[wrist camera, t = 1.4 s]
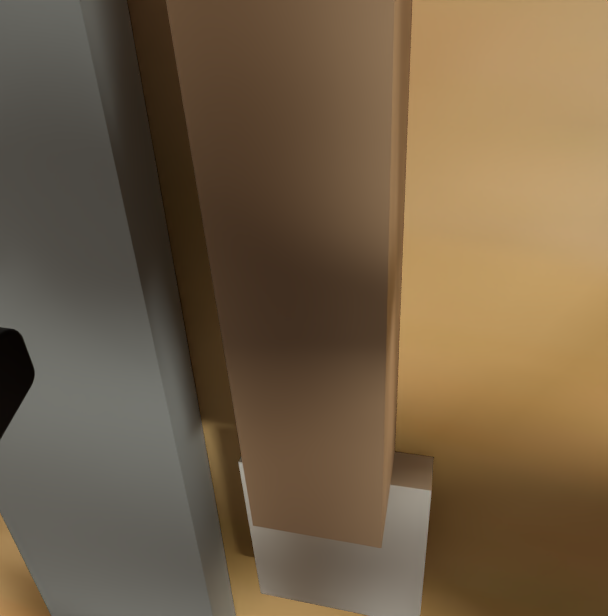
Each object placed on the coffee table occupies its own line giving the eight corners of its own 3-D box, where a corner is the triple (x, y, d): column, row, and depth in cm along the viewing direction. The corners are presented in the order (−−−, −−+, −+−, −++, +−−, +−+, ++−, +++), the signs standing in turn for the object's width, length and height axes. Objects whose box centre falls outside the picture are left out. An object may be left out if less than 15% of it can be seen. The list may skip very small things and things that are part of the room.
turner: (486, -121, 8) (494, -154, 6) (421, 588, 18) (414, 691, 15) (176, -92, 9) (73, -108, 7) (271, 560, 19) (242, 650, 16)
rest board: (110, -88, 9) (59, -95, 8) (236, 618, 21) (222, 659, 20) (-206, -68, 11) (-290, -71, 10) (74, 581, 23) (51, 617, 21)
